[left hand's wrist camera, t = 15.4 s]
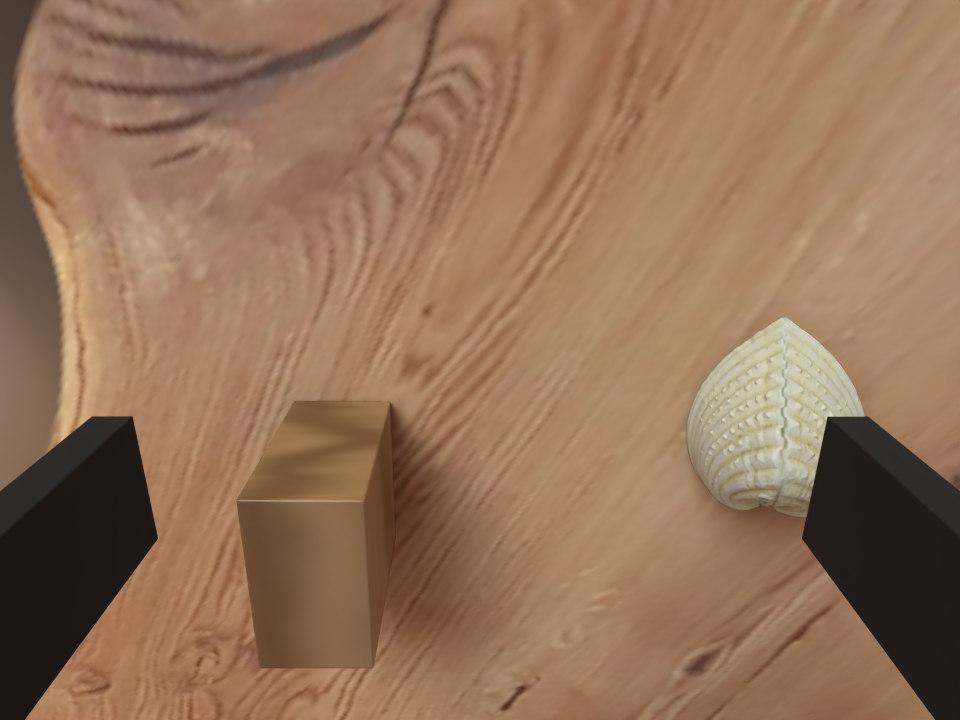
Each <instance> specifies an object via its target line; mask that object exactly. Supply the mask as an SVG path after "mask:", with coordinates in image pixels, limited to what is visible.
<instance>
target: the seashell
mask: <svg viewBox="0 0 960 720" xmlns="http://www.w3.org/2000/svg"><path fill="white" fill-rule="evenodd" d="M827 417H865V415H864V411H863V407H862V404H861V401H860V399H859V397H858V394H857V392H856V390H855V388H854V386H853V384H852V382H851V380H850V379H849V377H848V375H847V374H846V373H845V371H844V370H843V368H842V367H841V366H840V364H839V363H838V362H837V361H836V360H835V358H834V357H833V356H832V355H831V354H830V353H829V351H828V350H826V349H825V348H824V347H823V346H822V345H821V344H820V343H819V342H818V341H817V340H815V339H814V338H813V337H812V336H810V335H809V334H808V333H806V332H805V331H803V330H802V329H800V328H799V327H798V326H797V325H795V324H794V323H793V322H792V321H790V320H789V319H788V318H781V319H779V320H777V321H776V322H774V323H772V324H771V325H769V326H768V327H766V328H765V329H763V330H761V331H759V332H757V333H756V334H755V335H754V336H753V337H752V338H751V339H749V340H747V341H745V342H744V343H743V344H742V345H741V346H739V347H737V348H735V349H734V350H733V351H732V352H731V353H730V354H728V355H727V356H726V357H725V358H724V359H723V360H722V361H721V362H720V363H719V364H718V366H717V367H716V368H715V369H714V370H713V371H712V372H711V373H710V375H709V376H708V377H707V379H706V380H705V381H704V383H703V384H702V385H701V387H700V390H699V391H698V393H697V395H696V398H695V400H694V403H693V406H692V408H691V411H690V414H689V418H688V424H687V447H688V452H689V456H690V459H691V462H692V465H693V467H694V470H695V471H696V473H697V475H698V476H699V478H700V479H701V481H702V482H703V484H704V485H705V486H706V487H707V488H708V489H709V490H710V492H711V494H712V495H713V496H714V497H715V498H716V499H717V500H718V501H720V502H721V503H723V504H724V505H726V506H728V507H730V508H733V509H736V510H749V509H753V508H755V507H757V506H760V505H761V506H765V507H768V506H772V507H773V508H774V509H775V510H777V511H778V512H780V513H783V514H786V515H790V516H795V517H807V512H808V507H809V503H810V498H811V493H812V488H813V483H814V479H815V474H816V469H817V464H818V459H819V455H820V450H821V445H822V440H823V435H824V431H825V426H826V421H827Z"/></svg>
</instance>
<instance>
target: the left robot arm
mask: <svg viewBox="0 0 960 720" xmlns="http://www.w3.org/2000/svg"><path fill="white" fill-rule="evenodd" d="M157 539H158V536H157V531H156V527H155V522H154V517H153V512H152V507H151V503H150V498H149V493H148V488H147V483H146V479H145V474H144V469H143V464H142V459H141V455H140V450H139V445H138V440H137V435H136V431H135V426H134V421H133V417H91V418H90V419H88V420H87V421H86V422H85V423H84V424H82V425H81V426H80V427H79V428H77V429H76V430H75V431H74V432H72V433H71V434H70V435H69V436H68V437H66V438H65V439H64V440H63V441H61V442H60V443H59V444H58V445H57V446H55V447H54V448H53V449H52V450H50V451H49V452H48V453H47V454H45V455H44V456H43V457H42V458H41V459H39V460H38V461H37V462H36V463H34V464H33V465H32V466H31V467H30V468H28V469H27V470H26V471H25V472H23V473H22V474H21V475H20V476H18V477H17V478H16V479H15V480H14V481H12V482H11V483H10V484H9V485H7V486H6V487H5V488H4V489H2V490H1V491H0V720H25V719H26V717H27V716H28V715H29V713H30V712H31V711H32V709H33V708H34V707H35V705H36V704H37V702H38V701H39V700H40V698H41V697H42V696H43V694H44V693H45V692H46V690H47V689H48V687H49V686H50V685H51V683H52V682H53V681H54V679H55V678H56V677H57V675H58V674H59V673H60V671H61V670H62V668H63V667H64V666H65V664H66V663H67V662H68V660H69V659H70V658H71V656H72V655H73V653H74V652H75V651H76V649H77V648H78V647H79V645H80V644H81V643H82V641H83V640H84V639H85V637H86V636H87V634H88V633H89V632H90V630H91V629H92V628H93V626H94V625H95V624H96V622H97V621H98V619H99V618H100V617H101V615H102V614H103V613H104V611H105V610H106V609H107V607H108V606H109V605H110V603H111V602H112V600H113V599H114V598H115V596H116V595H117V594H118V592H119V591H120V590H121V588H122V587H123V585H124V584H125V583H126V581H127V580H128V579H129V577H130V576H131V575H132V573H133V572H134V571H135V569H136V568H137V566H138V565H139V564H140V562H141V561H142V560H143V558H144V557H145V556H146V554H147V553H148V551H149V550H150V549H151V547H152V546H153V545H154V543H155V542H156V541H157ZM802 539H803V541H804V542H805V543H806V545H807V546H808V547H809V549H810V550H811V551H812V553H813V554H814V556H815V557H816V558H817V560H818V561H819V562H820V564H821V565H822V566H823V568H824V569H825V571H826V572H827V573H828V575H829V576H830V577H831V579H832V580H833V581H834V583H835V584H836V585H837V587H838V588H839V590H840V591H841V592H842V594H843V595H844V596H845V598H846V599H847V600H848V602H849V603H850V605H851V606H852V607H853V609H854V610H855V611H856V613H857V614H858V615H859V617H860V618H861V619H862V621H863V622H864V624H865V625H866V626H867V628H868V629H869V630H870V632H871V633H872V634H873V636H874V637H875V639H876V640H877V641H878V643H879V644H880V645H881V647H882V648H883V649H884V651H885V652H886V653H887V655H888V656H889V658H890V659H891V660H892V662H893V663H894V664H895V666H896V667H897V668H898V670H899V671H900V673H901V674H902V675H903V677H904V678H905V679H906V681H907V682H908V683H909V685H910V686H911V687H912V689H913V690H914V692H915V693H916V694H917V696H918V697H919V698H920V700H921V701H922V702H923V704H924V705H925V707H926V708H927V709H928V711H929V712H930V713H931V715H932V716H933V717H934V719H935V720H960V491H959V490H958V489H956V488H955V487H954V486H953V485H951V484H950V483H949V482H948V481H946V480H945V479H944V478H943V477H942V476H940V475H939V474H938V473H937V472H935V471H934V470H933V469H932V468H931V467H929V466H928V465H927V464H926V463H924V462H923V461H922V460H921V459H919V458H918V457H917V456H916V455H915V454H913V453H912V452H911V451H910V450H908V449H907V448H906V447H905V446H903V445H902V444H901V443H900V442H899V441H897V440H896V439H895V438H894V437H892V436H891V435H890V434H889V433H888V432H886V431H885V430H884V429H883V428H881V427H880V426H879V425H878V424H876V423H875V422H874V421H873V420H872V419H870V418H869V417H827V421H826V426H825V431H824V435H823V440H822V445H821V450H820V455H819V459H818V464H817V469H816V474H815V479H814V483H813V488H812V493H811V498H810V503H809V507H808V512H807V517H806V522H805V527H804V531H803V536H802Z"/></svg>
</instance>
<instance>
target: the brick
mask: <svg viewBox="0 0 960 720" xmlns="http://www.w3.org/2000/svg"><path fill="white" fill-rule="evenodd" d="M237 507H238V515H239V522H240V529H241V537H242V544H243V551H244V559H245V566H246V573H247V581H248V588H249V595H250V603H251V610H252V617H253V625H254V632H255V639H256V647H257V654H258V661H259V667H260V668H373V667H374V663H375V657H376V651H377V645H378V639H379V633H380V627H381V621H382V615H383V610H384V604H385V598H386V592H387V586H388V580H389V574H390V568H391V562H392V556H393V550H394V545H395V539H396V538H395V512H394V485H393V458H392V431H391V404H390V402H342V401H295V402H294V403H293V405H292V406H291V408H290V410H289V412H288V413H287V415H286V417H285V418H284V420H283V422H282V424H281V425H280V427H279V429H278V430H277V432H276V434H275V436H274V437H273V439H272V441H271V442H270V444H269V446H268V448H267V449H266V451H265V453H264V454H263V456H262V458H261V460H260V461H259V463H258V465H257V466H256V468H255V470H254V472H253V473H252V475H251V477H250V478H249V480H248V482H247V483H246V485H245V487H244V489H243V490H242V492H241V494H240V495H239V497H238V499H237Z"/></svg>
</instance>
